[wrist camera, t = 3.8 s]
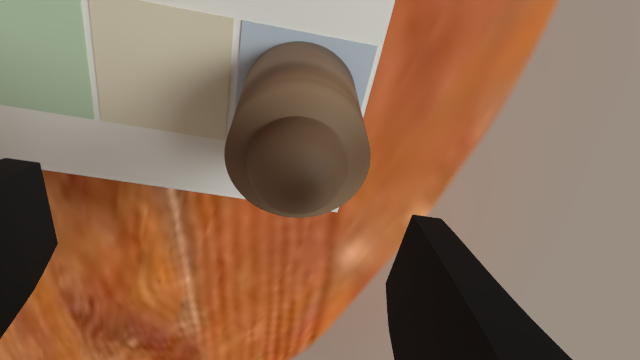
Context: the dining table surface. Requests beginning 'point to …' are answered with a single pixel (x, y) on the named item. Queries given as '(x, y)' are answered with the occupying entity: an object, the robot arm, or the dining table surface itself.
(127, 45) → the game board
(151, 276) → the dining table surface
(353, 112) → the pawn
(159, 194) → the dining table surface
